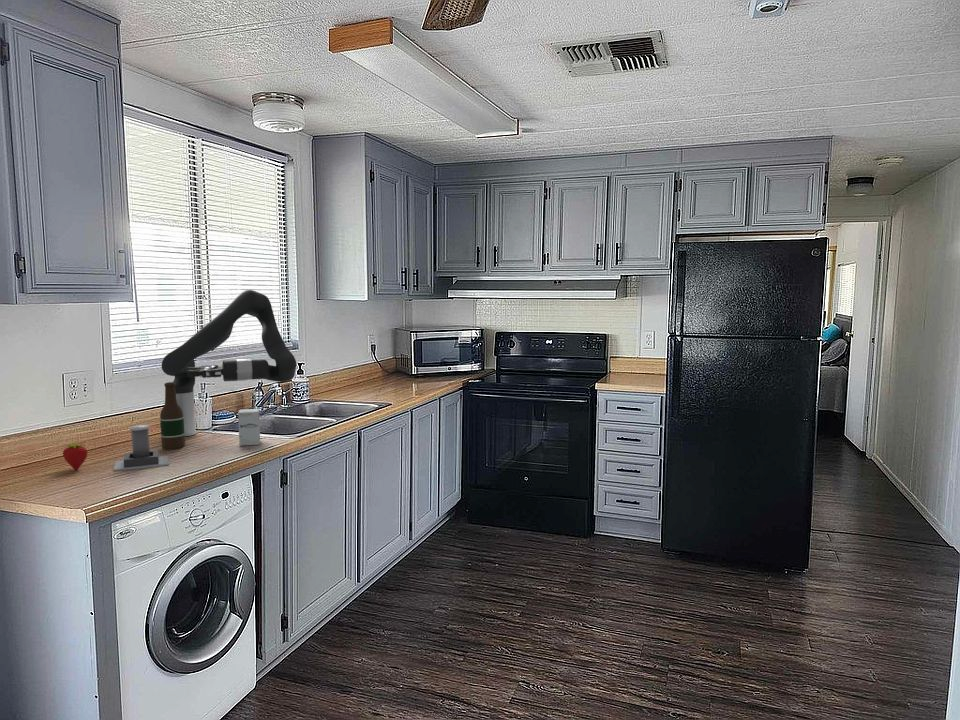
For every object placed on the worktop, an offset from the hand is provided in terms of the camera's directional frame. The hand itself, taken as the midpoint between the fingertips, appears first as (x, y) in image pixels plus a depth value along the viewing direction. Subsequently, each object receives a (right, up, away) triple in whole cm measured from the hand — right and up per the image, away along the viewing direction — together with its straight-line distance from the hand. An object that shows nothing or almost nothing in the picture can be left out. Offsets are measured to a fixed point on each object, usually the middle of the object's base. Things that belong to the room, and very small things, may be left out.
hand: (187, 372), depth 231 cm
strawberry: (-30, -31, -12) cm, 45 cm away
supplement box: (+14, -27, +23) cm, 38 cm away
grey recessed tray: (-12, -30, -7) cm, 33 cm away
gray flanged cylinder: (-12, -30, -7) cm, 33 cm away
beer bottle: (-13, -28, +18) cm, 36 cm away
